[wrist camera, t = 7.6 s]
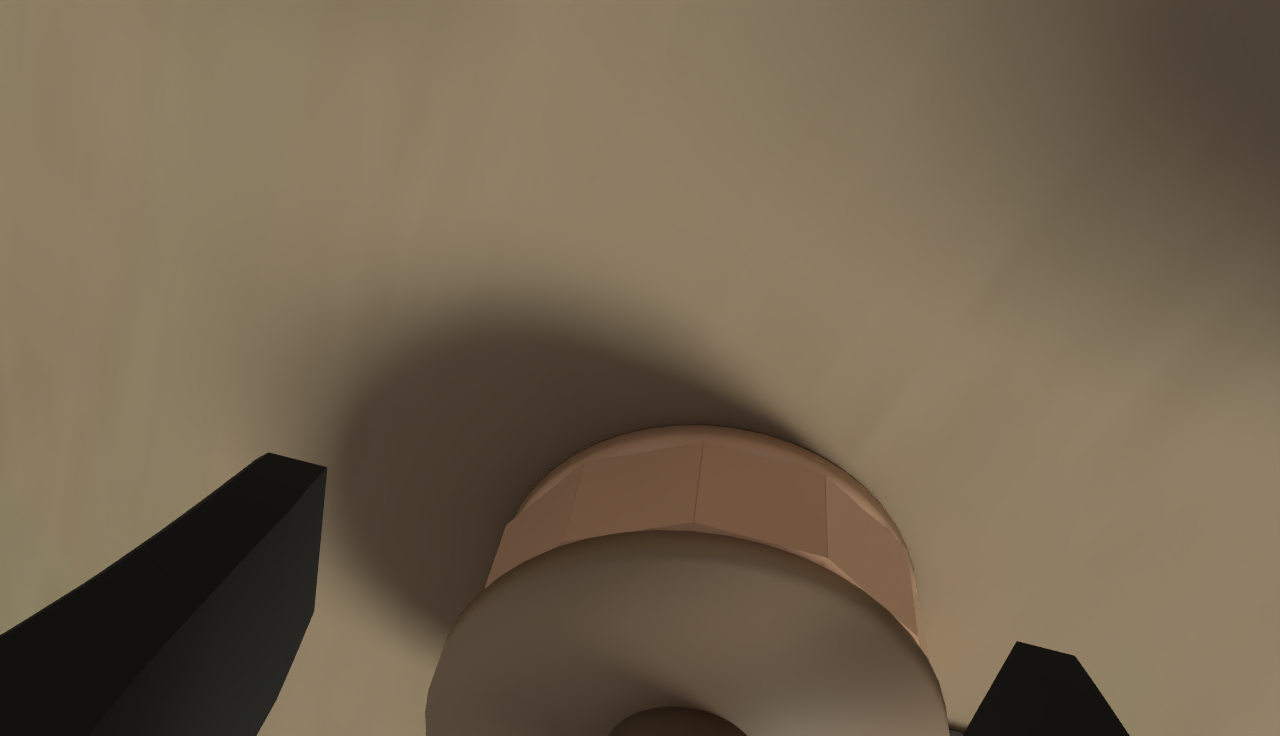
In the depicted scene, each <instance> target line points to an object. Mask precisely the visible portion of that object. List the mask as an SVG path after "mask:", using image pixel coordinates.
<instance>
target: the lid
mask: <svg viewBox="0 0 1280 736" xmlns="http://www.w3.org/2000/svg"><path fill="white" fill-rule="evenodd" d="M425 719H426V736H950V734H949V727H948V720H947V713H946V706H945V702H944V699H943V695H942V692H941V688H940V684H939V681H938V679H937V677H936V675H935V673H934V671H933V669H932V667H931V664H930V662H929V660H928V658H927V657H926V655H925V654H924V652H923V651H922V649H921V648H920V647H919V645H918V644H917V642H916V641H915V639H914V638H913V636H912V635H911V634H910V633H909V632H908V630H907V629H906V628H905V627H904V626H903V625H902V624H901V623H900V622H899V621H898V620H897V619H896V618H895V617H894V616H893V615H892V614H891V613H890V611H888V610H887V609H886V608H885V607H883V606H882V605H881V604H880V603H878V602H877V601H876V600H875V599H874V598H872V597H871V596H870V595H869V594H867V593H866V592H865V591H864V590H862V589H860V588H859V587H857V586H855V585H854V584H852V583H851V582H849V581H847V580H846V579H844V578H843V577H841V576H839V575H838V574H836V573H835V572H833V571H830V570H828V569H826V568H824V567H822V566H820V565H818V564H816V563H814V562H811V561H809V560H807V559H805V558H803V557H801V556H798V555H795V554H792V553H789V552H786V551H783V550H780V549H778V548H775V547H772V546H769V545H766V544H761V543H757V542H753V541H749V540H745V539H740V538H736V537H732V536H726V535H718V534H710V533H703V532H695V531H671V530H649V531H636V532H622V533H615V534H609V535H604V536H599V537H593V538H588V539H583V540H580V541H576V542H573V543H570V544H567V545H563V546H560V547H557V548H554V549H551V550H549V551H546V552H544V553H542V554H540V555H538V556H535V557H533V558H531V559H529V560H526V561H524V562H522V563H521V564H519V565H518V566H516V567H514V568H513V569H511V570H510V571H508V572H506V573H505V574H503V575H501V576H500V577H498V578H497V579H496V580H495V581H494V582H492V583H491V584H490V585H489V586H488V587H486V588H485V589H484V590H483V591H482V592H481V593H479V594H478V595H477V596H476V597H475V599H474V600H473V601H472V602H471V603H470V604H469V606H468V607H467V608H466V609H465V610H464V612H463V613H462V614H461V615H460V617H459V618H458V620H457V622H456V624H455V625H454V627H453V629H452V630H451V632H450V634H449V636H448V638H447V640H446V643H445V646H444V649H443V651H442V654H441V657H440V660H439V662H438V665H437V668H436V671H435V673H434V676H433V679H432V682H431V685H430V688H429V691H428V698H427V704H426V711H425Z"/></svg>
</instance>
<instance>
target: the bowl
mask: <svg viewBox="0 0 1280 736" xmlns="http://www.w3.org/2000/svg"><path fill="white" fill-rule="evenodd" d="M649 530H671V531H695V532H703V533H710V534H718V535H726V536H732V537H736V538H740V539H745V540H749V541H753V542H757V543H761V544H766V545H769V546H772V547H775V548H778V549H780V550H783V551H786V552H789V553H792V554H795V555H798V556H801V557H803V558H805V559H807V560H809V561H811V562H814V563H816V564H818V565H820V566H822V567H824V568H826V569H828V570H830V571H833V572H835V573H836V574H838V575H839V576H841V577H843V578H844V579H846V580H847V581H849V582H851V583H852V584H854V585H855V586H857V587H859V588H860V589H862V590H864V591H865V592H866V593H867V594H869V595H870V596H871V597H872V598H874V599H875V600H876V601H877V602H878V603H880V604H881V605H882V606H883V607H885V608H886V609H887V610H888V611H890V613H891V614H892V615H893V616H894V617H895V618H896V619H897V620H898V621H899V622H900V623H901V624H902V625H903V626H904V627H905V628H906V629H907V630H908V632H909V633H910V634H911V635H912V636H913V638H914V639H915V641H916V642H917V644H918V645H919V647H920V648H921V649H922V651H923V652H924V654H925V655H926V657H927V658H928V660H929V653H928V645H927V638H926V633H925V629H924V624H923V619H922V615H921V610H920V606H919V601H918V597H917V590H916V582H915V574H914V567H913V564H912V561H911V558H910V554H909V551H908V548H907V546H906V544H905V542H904V540H903V538H902V536H901V534H900V532H899V530H898V528H897V526H896V524H895V523H894V522H893V520H892V519H891V517H890V516H889V515H888V513H887V512H886V510H885V509H884V507H883V506H882V505H881V504H880V503H879V502H878V501H877V500H876V499H875V498H874V497H873V496H872V495H871V494H870V492H869V491H868V490H867V489H866V488H865V487H863V486H862V485H861V484H860V483H858V482H857V481H856V480H855V479H853V478H852V477H851V476H850V475H848V474H847V473H846V472H845V471H843V470H842V469H840V468H839V467H837V466H835V465H834V464H832V463H830V462H829V461H827V460H825V459H824V458H822V457H821V456H819V455H816V454H814V453H812V452H810V451H808V450H806V449H804V448H801V447H799V446H797V445H795V444H792V443H789V442H786V441H783V440H780V439H777V438H774V437H771V436H768V435H765V434H760V433H756V432H751V431H746V430H742V429H737V428H728V427H719V426H709V425H675V426H667V427H658V428H649V429H644V430H640V431H636V432H631V433H627V434H623V435H619V436H617V437H614V438H611V439H608V440H606V441H603V442H600V443H597V444H595V445H593V446H591V447H589V448H587V449H585V450H583V451H581V452H579V453H577V454H575V455H573V456H572V457H570V458H569V459H567V460H566V461H564V462H563V463H562V464H560V465H559V466H557V467H556V468H554V469H553V470H552V471H551V472H550V473H548V474H547V475H546V476H545V477H544V478H543V479H542V480H541V481H540V482H539V483H538V484H537V485H536V486H535V487H534V488H533V489H532V491H531V492H530V493H529V495H528V496H527V497H526V499H525V500H524V501H523V502H522V504H521V505H520V507H519V509H518V511H517V513H516V515H515V517H514V519H513V520H512V521H510V522H509V523H508V524H507V525H506V527H505V530H504V533H503V536H502V539H501V542H500V544H499V547H498V550H497V553H496V556H495V559H494V562H493V565H492V568H491V571H490V574H489V576H488V579H487V582H486V585H485V588H486V587H488V586H489V585H490V584H491V583H492V582H494V581H495V580H496V579H497V578H498V577H500V576H501V575H503V574H505V573H506V572H508V571H510V570H511V569H513V568H514V567H516V566H518V565H519V564H521V563H522V562H524V561H526V560H529V559H531V558H533V557H535V556H538V555H540V554H542V553H544V552H546V551H549V550H551V549H554V548H557V547H560V546H563V545H567V544H570V543H573V542H576V541H580V540H583V539H588V538H593V537H599V536H604V535H609V534H615V533H622V532H636V531H649ZM485 588H484V589H485ZM929 662H930V661H929Z"/></svg>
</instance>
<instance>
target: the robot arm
mask: <svg viewBox="0 0 1280 736" xmlns="http://www.w3.org/2000/svg"><path fill="white" fill-rule="evenodd" d="M326 475H327V467H324V466H320V465H316V464H312V463H308V462H304V461H300V460H296V459H292V458H288V457H284V456H280V455H277V454H273V453H267V454H265V455H263V456H261V457H259V458H257V459H256V460H255V461H253V462H252V463H251V464H249V465H248V466H247V467H245V468H244V469H243V470H241V471H240V472H239V473H237V474H236V475H235V476H234V477H232V478H231V479H230V480H228V481H227V482H226V483H224V484H223V485H222V486H220V487H219V488H218V489H216V490H215V491H214V492H213V493H211V494H210V495H209V496H207V497H206V498H205V499H203V500H202V501H201V502H199V503H198V504H196V505H195V506H194V507H192V508H191V509H190V510H188V511H187V512H186V513H184V514H183V515H181V516H180V517H179V518H177V519H176V520H175V521H173V522H172V523H171V524H169V525H168V526H166V527H165V528H164V529H162V530H161V531H160V532H158V533H157V534H155V535H154V536H152V537H151V538H149V539H148V540H147V541H145V542H144V543H142V544H141V545H139V546H138V547H136V548H135V549H134V550H132V551H131V552H129V553H128V554H126V555H125V556H123V557H122V558H120V559H119V560H118V561H116V562H115V563H113V564H112V565H110V566H109V567H107V568H106V569H105V570H103V571H102V572H100V573H99V574H97V575H96V576H94V577H93V578H91V579H90V580H88V581H87V582H85V583H84V584H82V585H80V586H79V587H77V588H76V589H74V590H72V591H71V592H69V593H68V594H66V595H64V596H63V597H61V598H60V599H58V600H56V601H55V602H53V603H52V604H50V605H48V606H47V607H45V608H44V609H42V610H40V611H39V612H37V613H36V614H34V615H32V616H31V617H29V618H28V619H26V620H24V621H23V622H21V623H20V624H18V625H16V626H15V627H13V628H12V629H10V630H8V631H7V632H5V633H3V634H1V635H0V736H256V735H257V734H258V732H259V730H260V728H261V726H262V725H263V723H264V721H265V719H266V718H267V716H268V714H269V712H270V710H271V709H272V707H273V705H274V703H275V701H276V700H277V697H278V695H279V693H280V690H281V688H282V686H283V684H284V681H285V679H286V677H287V674H288V672H289V670H290V667H291V665H292V663H293V661H294V658H295V656H296V653H297V651H298V649H299V646H300V644H301V641H302V639H303V637H304V634H305V632H306V629H307V627H308V625H309V622H310V620H311V617H312V615H313V613H314V606H315V596H316V585H317V574H318V563H319V552H320V541H321V530H322V519H323V508H324V497H325V486H326ZM963 736H1129V734H1128V733H1127V731H1126V730H1125V728H1124V727H1123V725H1122V724H1121V722H1120V721H1119V719H1118V718H1117V716H1116V715H1115V713H1114V712H1113V710H1112V709H1111V707H1110V706H1109V704H1108V703H1107V701H1106V700H1105V698H1104V697H1103V695H1102V694H1101V692H1100V691H1099V689H1098V688H1097V687H1096V685H1095V684H1094V682H1093V681H1092V679H1091V678H1090V676H1089V675H1088V674H1087V672H1086V671H1085V669H1084V668H1083V667H1082V665H1081V664H1080V662H1079V661H1078V660H1077V658H1076V657H1075V656H1073V655H1069V654H1065V653H1061V652H1058V651H1054V650H1050V649H1046V648H1042V647H1038V646H1034V645H1030V644H1026V643H1022V642H1018V641H1017V642H1016V643H1015V645H1014V647H1013V649H1012V650H1011V652H1010V654H1009V656H1008V657H1007V659H1006V661H1005V663H1004V664H1003V666H1002V668H1001V670H1000V671H999V673H998V675H997V677H996V678H995V680H994V682H993V684H992V685H991V687H990V689H989V691H988V692H987V694H986V696H985V698H984V699H983V701H982V703H981V705H980V706H979V708H978V710H977V712H976V713H975V715H974V717H973V719H972V720H971V722H970V724H969V725H968V727H967V729H966V731H965V732H964V734H963Z"/></svg>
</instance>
